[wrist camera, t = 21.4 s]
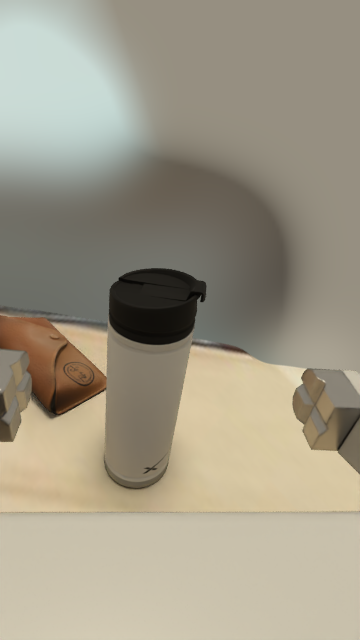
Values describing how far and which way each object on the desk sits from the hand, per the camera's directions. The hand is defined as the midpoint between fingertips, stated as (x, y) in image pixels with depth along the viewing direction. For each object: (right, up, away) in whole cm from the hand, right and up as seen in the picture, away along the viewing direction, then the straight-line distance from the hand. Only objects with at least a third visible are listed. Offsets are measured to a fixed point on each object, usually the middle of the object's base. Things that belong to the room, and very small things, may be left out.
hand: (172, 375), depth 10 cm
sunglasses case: (-17, -4, +33) cm, 38 cm away
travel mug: (-4, -12, +24) cm, 27 cm away
